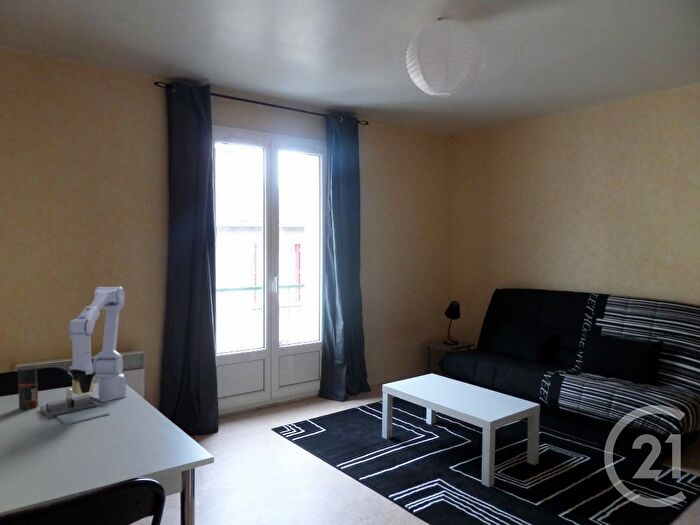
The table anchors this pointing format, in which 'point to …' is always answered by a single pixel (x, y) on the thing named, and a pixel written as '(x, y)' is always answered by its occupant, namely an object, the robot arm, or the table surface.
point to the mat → (82, 415)
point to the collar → (79, 387)
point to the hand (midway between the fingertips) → (82, 390)
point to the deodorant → (27, 387)
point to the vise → (68, 405)
